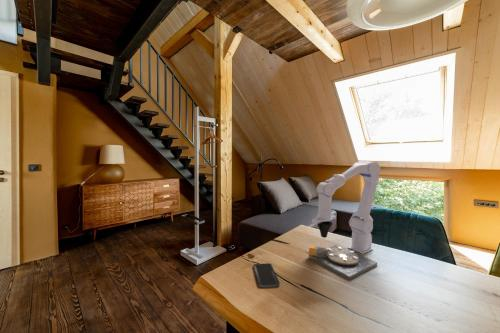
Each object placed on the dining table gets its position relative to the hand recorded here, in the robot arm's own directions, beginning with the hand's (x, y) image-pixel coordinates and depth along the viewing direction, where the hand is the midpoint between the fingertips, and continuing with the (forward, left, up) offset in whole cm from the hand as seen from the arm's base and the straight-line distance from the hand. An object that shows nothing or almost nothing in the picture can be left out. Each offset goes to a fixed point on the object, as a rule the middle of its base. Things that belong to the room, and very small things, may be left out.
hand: (323, 236), depth 100 cm
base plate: (-1, +9, -8) cm, 12 cm away
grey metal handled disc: (+1, +6, -7) cm, 9 cm away
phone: (+34, 0, -9) cm, 35 cm away
